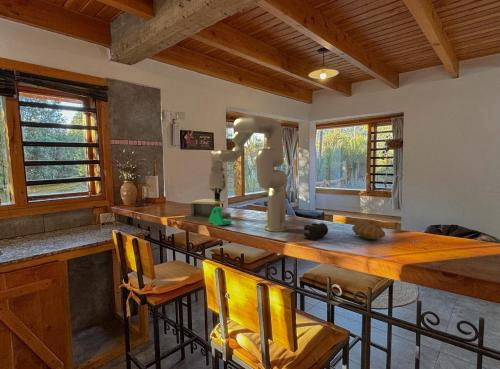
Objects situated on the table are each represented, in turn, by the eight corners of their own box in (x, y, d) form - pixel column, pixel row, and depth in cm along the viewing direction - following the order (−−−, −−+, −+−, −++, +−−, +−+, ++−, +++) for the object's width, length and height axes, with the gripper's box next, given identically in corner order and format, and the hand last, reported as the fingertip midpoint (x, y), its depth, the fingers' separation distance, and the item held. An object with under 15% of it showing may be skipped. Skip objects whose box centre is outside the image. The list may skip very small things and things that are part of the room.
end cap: (316, 242, 124) (317, 227, 124) (303, 239, 129) (303, 224, 129) (328, 238, 131) (328, 223, 131) (315, 235, 136) (315, 221, 136)
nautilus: (362, 232, 144) (394, 238, 134) (344, 237, 129) (378, 245, 118) (364, 216, 144) (396, 222, 134) (346, 220, 128) (380, 227, 118)
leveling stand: (230, 216, 187) (230, 201, 187) (214, 221, 169) (213, 205, 169) (202, 213, 197) (202, 200, 196) (184, 219, 179) (184, 203, 178)
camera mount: (232, 224, 162) (232, 207, 161) (222, 227, 156) (221, 208, 155) (218, 222, 170) (218, 205, 169) (208, 224, 164) (208, 206, 163)
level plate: (225, 201, 185) (225, 198, 184) (214, 204, 172) (214, 200, 172) (203, 200, 192) (203, 197, 192) (191, 203, 179) (191, 199, 179)
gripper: (230, 170, 178) (230, 199, 179) (210, 170, 184) (210, 197, 186) (224, 170, 171) (224, 200, 172) (203, 170, 178) (204, 199, 179)
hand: (217, 199), depth 179 cm, fingers closed
